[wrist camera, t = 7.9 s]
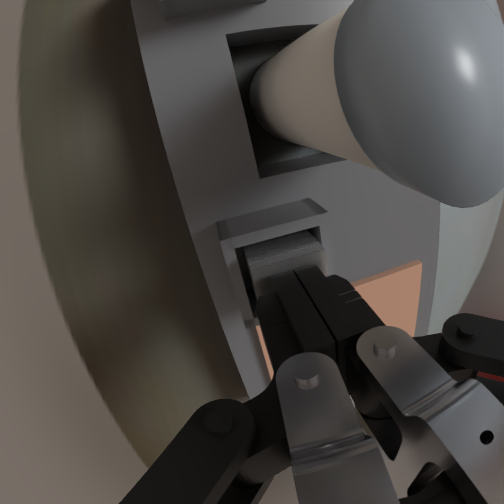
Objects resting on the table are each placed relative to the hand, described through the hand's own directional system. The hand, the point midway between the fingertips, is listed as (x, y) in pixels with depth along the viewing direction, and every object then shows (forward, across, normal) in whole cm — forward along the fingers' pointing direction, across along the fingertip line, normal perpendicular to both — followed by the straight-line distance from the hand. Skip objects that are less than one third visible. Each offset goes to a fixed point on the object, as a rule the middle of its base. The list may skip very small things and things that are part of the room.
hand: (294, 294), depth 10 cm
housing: (+6, -3, -2) cm, 7 cm away
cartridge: (+6, -3, -6) cm, 9 cm away
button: (+3, 0, 0) cm, 3 cm away
